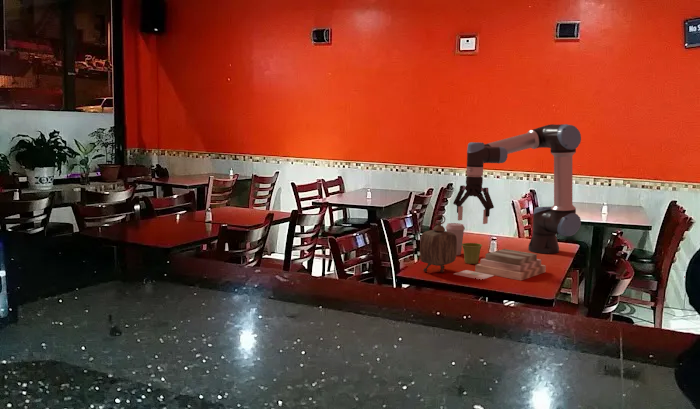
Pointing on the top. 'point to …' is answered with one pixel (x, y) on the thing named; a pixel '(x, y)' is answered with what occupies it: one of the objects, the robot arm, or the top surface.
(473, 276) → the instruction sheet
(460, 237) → the coffee cup
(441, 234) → the tabletop clock
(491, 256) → the stepped tower
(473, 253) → the plant pot
